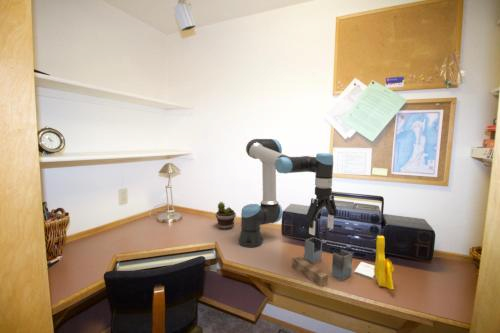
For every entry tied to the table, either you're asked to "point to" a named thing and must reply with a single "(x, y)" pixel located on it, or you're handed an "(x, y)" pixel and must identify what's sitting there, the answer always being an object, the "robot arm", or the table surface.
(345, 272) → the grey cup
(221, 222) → the flowerpot
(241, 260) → the table surface
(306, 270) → the rail
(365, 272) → the external hard drive
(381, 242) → the figure statuette
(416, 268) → the table surface
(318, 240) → the bracket left
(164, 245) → the table surface
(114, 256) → the table surface
